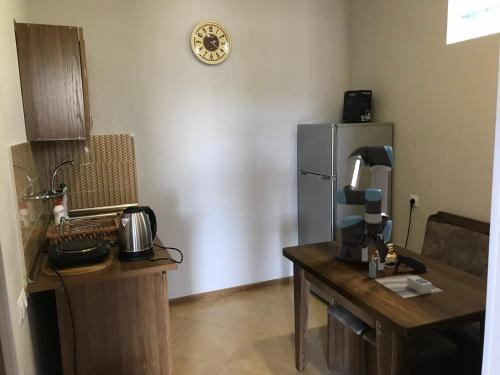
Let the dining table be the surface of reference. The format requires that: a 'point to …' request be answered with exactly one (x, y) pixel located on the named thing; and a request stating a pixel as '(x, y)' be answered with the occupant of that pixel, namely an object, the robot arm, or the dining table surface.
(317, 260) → the dining table surface
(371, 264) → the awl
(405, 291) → the panel
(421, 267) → the gun
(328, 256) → the dining table surface
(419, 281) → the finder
